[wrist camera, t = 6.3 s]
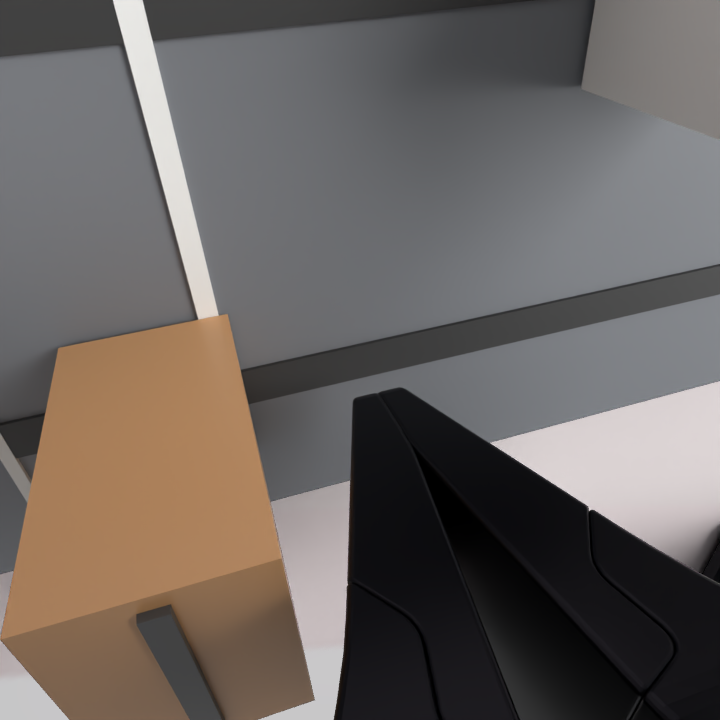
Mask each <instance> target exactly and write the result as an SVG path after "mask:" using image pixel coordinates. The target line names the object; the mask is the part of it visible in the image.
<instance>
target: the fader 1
mask: <svg viewBox="0 0 720 720" xmlns="http://www.w3.org/2000/svg"><path fill="white" fill-rule="evenodd" d="M0 640H1V641H2V642H3V644H4V645H5V646H6V647H7V648H8V649H9V651H10V652H11V653H12V654H13V655H14V656H15V657H16V659H17V660H18V661H19V662H20V663H21V664H22V666H23V667H24V668H25V669H26V670H27V671H28V672H29V674H30V675H31V676H32V677H33V678H34V679H35V681H36V682H37V683H38V684H39V685H40V686H41V687H42V688H43V690H44V691H45V692H46V693H47V694H48V696H49V697H50V698H51V699H52V700H53V701H54V702H55V704H56V705H57V706H58V707H59V708H60V709H61V710H62V712H63V713H64V714H65V715H66V716H67V717H68V719H69V720H258V719H261V718H264V717H267V716H269V715H272V714H275V713H278V712H281V711H284V710H287V709H290V708H293V707H296V706H299V705H302V704H305V703H308V702H311V701H313V700H315V699H314V695H313V690H312V686H311V681H310V677H309V672H308V668H307V664H306V659H305V654H304V650H303V645H302V641H301V636H300V632H299V627H298V623H297V618H296V614H295V609H294V605H293V601H292V596H291V592H290V587H289V583H288V578H287V574H286V569H285V565H284V560H283V556H282V551H281V547H280V542H279V538H278V533H277V529H276V524H275V520H274V515H273V511H272V506H271V502H270V498H269V493H268V489H267V484H266V480H265V475H264V471H263V466H262V462H261V457H260V453H259V448H258V444H257V440H256V435H255V431H254V427H253V422H252V418H251V414H250V409H249V405H248V400H247V396H246V392H245V387H244V383H243V379H242V374H241V370H240V366H239V361H238V357H237V353H236V348H235V344H234V339H233V335H232V331H231V326H230V322H229V318H228V314H225V315H220V316H215V317H210V318H205V319H200V320H195V321H190V322H185V323H180V324H175V325H170V326H165V327H160V328H155V329H150V330H145V331H140V332H135V333H130V334H125V335H120V336H115V337H110V338H105V339H100V340H95V341H90V342H85V343H80V344H75V345H70V346H65V347H60V348H58V353H57V358H56V363H55V368H54V373H53V378H52V383H51V388H50V393H49V398H48V403H47V408H46V413H45V418H44V423H43V428H42V433H41V438H40V443H39V448H38V453H37V458H36V463H35V468H34V473H33V478H32V483H31V488H30V493H29V498H28V503H27V508H26V513H25V518H24V523H23V528H22V533H21V538H20V543H19V548H18V553H17V558H16V563H15V568H14V573H13V578H12V583H11V588H10V593H9V598H8V603H7V608H6V613H5V618H4V623H3V628H2V633H1V638H0Z"/></svg>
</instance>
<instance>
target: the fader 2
mask: <svg viewBox="0 0 720 720" xmlns="http://www.w3.org/2000/svg"><path fill="white" fill-rule="evenodd" d="M581 89H582V90H585V91H588V92H590V93H593V94H596V95H599V96H601V97H604V98H607V99H610V100H612V101H615V102H618V103H620V104H623V105H626V106H629V107H631V108H634V109H637V110H640V111H642V112H645V113H648V114H650V115H653V116H656V117H659V118H661V119H664V120H667V121H669V122H672V123H675V124H678V125H680V126H683V127H686V128H689V129H691V130H694V131H697V132H699V133H702V134H705V135H708V136H710V137H713V138H716V139H719V140H720V0H595V6H594V13H593V19H592V25H591V31H590V37H589V43H588V49H587V55H586V61H585V67H584V73H583V79H582V85H581Z"/></svg>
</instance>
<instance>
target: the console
mask: <svg viewBox="0 0 720 720" xmlns="http://www.w3.org/2000/svg"><path fill="white" fill-rule="evenodd" d="M594 6H595V0H0V574H3V573H6V572H10V571H14V568H15V563H16V558H17V553H18V548H19V543H20V538H21V533H22V528H23V523H24V518H25V513H26V508H27V503H28V498H29V493H30V488H31V483H32V478H33V473H34V468H35V463H36V458H37V453H38V448H39V443H40V438H41V433H42V428H43V423H44V418H45V413H46V408H47V403H48V398H49V393H50V388H51V383H52V378H53V373H54V368H55V363H56V358H57V353H58V348H60V347H65V346H70V345H75V344H80V343H85V342H90V341H95V340H100V339H105V338H110V337H115V336H120V335H125V334H130V333H135V332H140V331H145V330H150V329H155V328H160V327H165V326H170V325H175V324H180V323H185V322H190V321H195V320H200V319H205V318H210V317H215V316H220V315H225V314H228V318H229V322H230V326H231V331H232V335H233V339H234V344H235V348H236V353H237V357H238V361H239V366H240V370H241V374H242V379H243V383H244V387H245V392H246V396H247V400H248V405H249V409H250V414H251V418H252V422H253V427H254V431H255V435H256V440H257V444H258V448H259V453H260V457H261V462H262V466H263V471H264V475H265V480H266V484H267V489H268V493H269V498H270V502H271V501H274V500H278V499H282V498H286V497H289V496H293V495H297V494H300V493H304V492H308V491H312V490H315V489H319V488H323V487H327V486H330V485H334V484H338V483H341V482H345V481H349V480H350V473H351V439H352V404H353V400H354V398H356V397H360V396H364V395H368V394H372V393H377V394H378V393H379V392H381V391H385V390H389V389H393V388H397V387H402V388H405V389H407V390H408V391H410V392H411V393H413V394H414V395H416V396H417V397H419V398H421V399H422V400H424V401H425V402H427V403H428V404H430V405H431V406H433V407H434V408H436V409H438V410H439V411H441V412H442V413H444V414H445V415H447V416H448V417H450V418H452V419H453V420H455V421H456V422H458V423H459V424H461V425H462V426H464V427H466V428H467V429H469V430H470V431H472V432H473V433H475V434H476V435H478V436H479V437H481V438H483V439H484V440H486V441H487V442H489V443H490V442H494V441H498V440H502V439H505V438H509V437H513V436H516V435H520V434H524V433H528V432H531V431H535V430H539V429H543V428H546V427H550V426H554V425H557V424H561V423H565V422H569V421H572V420H576V419H580V418H584V417H587V416H591V415H595V414H598V413H602V412H606V411H610V410H613V409H617V408H621V407H624V406H628V405H632V404H636V403H639V402H643V401H647V400H651V399H654V398H658V397H662V396H665V395H669V394H673V393H677V392H680V391H684V390H688V389H692V388H695V387H699V386H703V385H706V384H710V383H714V382H718V381H720V140H719V139H716V138H713V137H710V136H708V135H705V134H702V133H699V132H697V131H694V130H691V129H689V128H686V127H683V126H680V125H678V124H675V123H672V122H669V121H667V120H664V119H661V118H659V117H656V116H653V115H650V114H648V113H645V112H642V111H640V110H637V109H634V108H631V107H629V106H626V105H623V104H620V103H618V102H615V101H612V100H610V99H607V98H604V97H601V96H599V95H596V94H593V93H590V92H588V91H585V90H582V89H581V85H582V79H583V73H584V67H585V61H586V55H587V49H588V43H589V37H590V31H591V25H592V19H593V13H594Z"/></svg>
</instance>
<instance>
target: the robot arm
mask: <svg viewBox="0 0 720 720" xmlns="http://www.w3.org/2000/svg"><path fill="white" fill-rule="evenodd" d="M347 581H348V586H347V600H346V623H345V638H344V652H343V661H342V668H341V675H340V683H339V691H338V697H337V704H336V710H335V716H334V720H720V543H719V545H718V547H717V549H716V551H715V553H714V554H713V556H712V558H711V560H710V562H709V564H708V566H707V567H706V569H705V571H704V573H703V575H702V574H701V573H699V572H697V571H695V570H693V569H692V568H690V567H688V566H686V565H684V564H683V563H681V562H679V561H677V560H675V559H674V558H672V557H670V556H668V555H666V554H665V553H663V552H661V551H659V550H657V549H656V548H654V547H652V546H651V545H649V544H647V543H646V542H644V541H643V540H641V539H639V538H638V537H636V536H634V535H633V534H631V533H629V532H628V531H626V530H625V529H623V528H621V527H620V526H618V525H616V524H615V523H613V522H612V521H610V520H609V519H607V518H606V517H604V516H603V515H601V514H599V513H598V512H596V511H595V510H590V511H589V508H588V506H587V505H585V504H584V503H582V502H580V501H579V500H577V499H576V498H574V497H573V496H571V495H570V494H568V493H566V492H565V491H563V490H562V489H560V488H559V487H557V486H556V485H554V484H552V483H551V482H549V481H548V480H546V479H545V478H543V477H542V476H540V475H538V474H537V473H535V472H534V471H532V470H531V469H529V468H528V467H526V466H525V465H523V464H521V463H520V462H518V461H517V460H515V459H514V458H512V457H511V456H509V455H507V454H506V453H504V452H503V451H501V450H500V449H498V448H497V447H495V446H493V445H492V444H490V443H489V442H487V441H486V440H484V439H483V438H481V437H479V436H478V435H476V434H475V433H473V432H472V431H470V430H469V429H467V428H466V427H464V426H462V425H461V424H459V423H458V422H456V421H455V420H453V419H452V418H450V417H448V416H447V415H445V414H444V413H442V412H441V411H439V410H438V409H436V408H434V407H433V406H431V405H430V404H428V403H427V402H425V401H424V400H422V399H421V398H419V397H417V396H416V395H414V394H413V393H411V392H410V391H408V390H407V389H405V388H402V387H397V388H393V389H389V390H385V391H381V392H379V393H378V394H377V393H372V394H368V395H364V396H360V397H356V398H354V400H353V404H352V439H351V473H350V508H349V542H348V577H347Z"/></svg>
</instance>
